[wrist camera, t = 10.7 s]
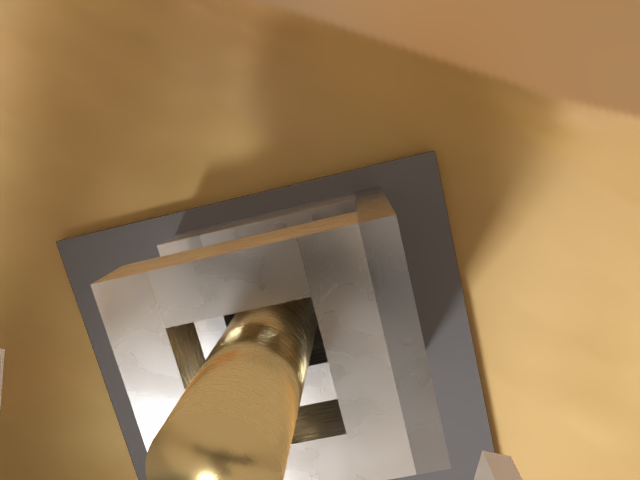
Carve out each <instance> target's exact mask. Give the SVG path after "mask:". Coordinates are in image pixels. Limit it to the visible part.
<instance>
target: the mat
mask: <svg viewBox="0 0 640 480" xmlns="http://www.w3.org/2000/svg"><path fill="white" fill-rule="evenodd" d="M379 186H380V187H381V189H382V191H383V192H384V194H385V196H386V198H387V199H388V201H389V203H390V205H391V206H392V208H393V210H394V212H395V213H396V216H397V221H398V225H399V230H400V234H401V239H402V244H403V248H404V253H405V257H406V262H407V267H408V271H409V276H410V281H411V285H412V290H413V294H414V299H415V304H416V308H417V313H418V317H419V322H420V327H421V331H422V336H423V340H424V345H425V350H426V354H427V359H428V364H429V368H430V373H431V377H432V382H433V387H434V391H435V396H436V400H437V405H438V410H439V414H440V419H441V423H442V428H443V433H444V437H445V442H446V447H447V451H448V456H449V460H450V465H451V469H446V470H441V471H435V472H429V473H424V474H418V475H412V476H407V477H401V478H395V479H390V480H474V477H475V474H476V470H477V467H478V464H479V460H480V457H481V454H482V450H483V451H488V452H492V453H495V452H494V447H493V442H492V437H491V432H490V427H489V422H488V417H487V412H486V407H485V402H484V397H483V391H482V386H481V381H480V376H479V371H478V366H477V361H476V356H475V351H474V346H473V341H472V336H471V331H470V326H469V321H468V316H467V311H466V305H465V300H464V295H463V290H462V285H461V280H460V275H459V270H458V265H457V260H456V255H455V250H454V245H453V240H452V235H451V230H450V225H449V219H448V214H447V209H446V204H445V199H444V194H443V189H442V184H441V179H440V174H439V169H438V164H437V159H436V154H435V151H430V152H426V153H422V154H418V155H414V156H409V157H405V158H401V159H397V160H393V161H389V162H384V163H380V164H376V165H372V166H368V167H364V168H359V169H355V170H351V171H347V172H343V173H339V174H334V175H330V176H326V177H322V178H318V179H314V180H309V181H305V182H301V183H297V184H293V185H289V186H284V187H280V188H276V189H272V190H268V191H264V192H259V193H255V194H251V195H247V196H243V197H239V198H234V199H230V200H226V201H222V202H218V203H214V204H209V205H205V206H201V207H197V208H193V209H189V210H184V211H180V212H176V213H172V214H168V215H164V216H159V217H155V218H151V219H147V220H143V221H139V222H134V223H130V224H126V225H122V226H118V227H114V228H109V229H105V230H101V231H97V232H93V233H89V234H84V235H80V236H76V237H72V238H68V239H64V240H60V241H57V242H56V243H57V246H58V249H59V252H60V255H61V258H62V261H63V264H64V267H65V269H66V272H67V275H68V278H69V281H70V284H71V287H72V290H73V292H74V295H75V298H76V301H77V304H78V307H79V310H80V313H81V315H82V318H83V321H84V324H85V327H86V330H87V333H88V336H89V338H90V341H91V344H92V347H93V350H94V353H95V356H96V359H97V361H98V364H99V367H100V370H101V373H102V376H103V379H104V382H105V384H106V387H107V390H108V393H109V396H110V399H111V402H112V405H113V407H114V410H115V413H116V416H117V419H118V422H119V425H120V428H121V430H122V433H123V436H124V439H125V442H126V445H127V448H128V451H129V453H130V456H131V459H132V462H133V465H134V468H135V471H136V474H137V477H138V479H139V480H147V479H146V472H145V461H146V455H147V450H146V447H145V444H144V441H143V438H142V435H141V432H140V429H139V426H138V423H137V420H136V417H135V414H134V411H133V409H132V406H131V403H130V400H129V397H128V394H127V391H126V388H125V385H124V382H123V379H122V376H121V373H120V370H119V367H118V364H117V362H116V359H115V356H114V353H113V350H112V347H111V344H110V341H109V338H108V335H107V332H106V329H105V326H104V323H103V320H102V317H101V314H100V312H99V309H98V306H97V303H96V300H95V297H94V294H93V291H92V288H91V285H90V284H92V283H94V282H96V281H97V280H99V279H101V278H102V277H104V276H106V275H107V274H109V273H111V272H113V271H114V270H116V269H118V268H119V267H121V266H123V265H127V264H131V263H135V262H140V261H144V260H148V259H153V258H157V257H160V254H159V251H158V248H157V245H158V244H160V243H162V242H164V241H165V240H167V239H169V238H170V237H172V236H174V235H175V234H180V233H184V232H188V231H192V230H197V229H201V228H205V227H209V226H214V225H218V224H222V223H226V222H231V221H235V220H239V219H243V218H248V217H252V216H256V215H260V214H265V213H269V212H273V211H277V210H282V209H286V208H290V207H294V206H299V205H303V204H307V203H311V202H316V201H320V200H324V199H328V198H333V197H337V196H341V195H345V194H350V193H354V192H358V191H362V190H367V189H371V188H375V187H379ZM321 342H323V340H322V337H321V333H320V329H319V325H318V324H317V328H316V333H315V337H314V342H313V344H316V343H321Z"/></svg>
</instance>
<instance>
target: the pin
mask: <svg viewBox="0 0 640 480" xmlns="http://www.w3.org/2000/svg"><path fill="white" fill-rule="evenodd" d="M317 324H318V321H317V317H316V313H315V309H314V305H313V301H312V298H311V297H308V298H303V299H298V300H294V301H289V302H285V303H280V304H275V305H271V306H266V307H262V308H257V309H252V310H248V311H243V312H238V313H236V314H235V316H234V317H233V319H232V321H231V322H230V324H229V325H228V327H227V328H226V330H225V331H224V333H223V334H222V336H221V337H220V339H219V340H218V342H217V343H216V345H215V346H214V348H213V349H212V351H211V352H210V354H209V355H208V357H207V358H206V360H205V361H204V363H203V364H202V366H201V367H200V369H199V371H198V372H197V374H196V375H195V377H194V378H193V380H192V381H191V383H190V384H189V386H188V387H187V389H186V390H185V392H184V393H183V395H182V396H181V398H180V399H179V401H178V402H177V404H176V405H175V407H174V408H173V410H172V411H171V413H170V414H169V416H168V417H167V419H166V421H165V422H164V424H163V425H162V427H161V428H160V430H159V431H158V433H157V434H156V436H155V437H154V439H153V440H152V442H151V444H150V446H149V449H148V452H147V455H146V461H145V472H146V479H147V480H283V479H284V474H285V470H286V465H287V461H288V456H289V452H290V447H291V442H292V438H293V433H294V429H295V424H296V420H297V415H298V410H299V406H300V401H301V397H302V392H303V388H304V383H305V379H306V374H307V369H308V365H309V360H310V356H311V351H312V347H313V342H314V337H315V333H316V328H317Z"/></svg>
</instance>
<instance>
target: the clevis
mask: <svg viewBox="0 0 640 480" xmlns="http://www.w3.org/2000/svg"><path fill="white" fill-rule="evenodd" d="M157 248H158V251H159V254H160V257H157V258H153V259H148V260H144V261H140V262H135V263H131V264H127V265H123V266H121V267H119V268H118V269H116V270H114V271H113V272H111V273H109V274H107V275H106V276H104V277H102V278H101V279H99V280H97V281H96V282H94V283H92V284H90V285H91V288H92V291H93V294H94V297H95V300H96V303H97V306H98V309H99V312H100V314H101V317H102V320H103V323H104V326H105V329H106V332H107V335H108V338H109V341H110V344H111V347H112V350H113V353H114V356H115V359H116V362H117V364H118V367H119V370H120V373H121V376H122V379H123V382H124V385H125V388H126V391H127V394H128V397H129V400H130V403H131V406H132V409H133V411H134V414H135V417H136V420H137V423H138V426H139V429H140V432H141V435H142V438H143V441H144V444H145V447H146V450H147V452H148V449H149V446H150V444H151V442H152V440H153V439H154V437H155V436H156V434H157V433H158V431H159V430H160V428H161V427H162V425H163V424H164V422H165V421H166V419H167V417H168V416H169V414H170V413H171V411H172V410H173V408H174V407H175V405H176V404H177V402H178V401H179V399H180V398H181V396H182V395H183V393H184V392H185V390H186V389H187V387H188V386H189V384H190V383H191V381H192V380H193V378H194V377H195V375H196V374H197V372H198V371H199V369H200V367H201V366H202V364H203V363H204V361H205V360H206V358H207V357H208V355H209V354H210V352H211V351H212V349H213V348H214V346H215V345H216V343H217V342H218V340H219V339H220V337H221V336H222V334H223V333H224V331H225V330H226V328H227V327H228V325H229V324H230V322H231V321H232V319H233V317H234V316H235V314H236V313H238V312H243V311H248V310H252V309H257V308H262V307H266V306H271V305H275V304H280V303H285V302H289V301H294V300H298V299H303V298H308V297H311V298H312V301H313V305H314V309H315V313H316V317H317V321H318V325H319V329H320V333H321V337H322V340H323V342H321V343H316V344H313V347H312V351H311V356H310V360H309V365H308V369H307V374H306V379H305V383H304V388H303V392H302V397H301V401H300V406H299V410H298V415H297V420H296V424H295V429H294V433H293V438H292V442H291V447H290V452H289V456H288V461H287V465H286V470H285V474H284V479H283V480H390V479H395V478H401V477H407V476H412V475H418V474H424V473H429V472H435V471H441V470H446V469H451V465H450V460H449V456H448V451H447V447H446V442H445V437H444V433H443V428H442V423H441V419H440V414H439V410H438V405H437V400H436V396H435V391H434V387H433V382H432V377H431V373H430V368H429V364H428V359H427V354H426V350H425V345H424V340H423V336H422V331H421V327H420V322H419V317H418V313H417V308H416V304H415V299H414V294H413V290H412V285H411V281H410V276H409V271H408V267H407V262H406V257H405V253H404V248H403V244H402V239H401V234H400V230H399V225H398V221H397V216H396V213H395V212H394V210H393V208H392V206H391V205H390V203H389V201H388V199H387V198H386V196H385V194H384V192H383V191H382V189H381V187H380V186H379V187H375V188H371V189H367V190H362V191H358V192H354V193H350V194H345V195H341V196H337V197H333V198H328V199H324V200H320V201H316V202H311V203H307V204H303V205H299V206H294V207H290V208H286V209H282V210H277V211H273V212H269V213H265V214H260V215H256V216H252V217H248V218H243V219H239V220H235V221H231V222H226V223H222V224H218V225H214V226H209V227H205V228H201V229H197V230H192V231H188V232H184V233H180V234H175V235H174V236H172V237H170V238H169V239H167V240H165V241H164V242H162V243H160V244H158V245H157Z"/></svg>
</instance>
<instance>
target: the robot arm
mask: <svg viewBox="0 0 640 480" xmlns="http://www.w3.org/2000/svg"><path fill="white" fill-rule="evenodd" d="M4 353H5V349H1V348H0V408H1V394H2V381H3V367H4ZM474 480H522V478H521V476H520V474H519V472H518V470H517V468H516V466H515V464H514V462H513V460H512V458H511V456H506V455H502V454H497V453H492V452H488V451H483V450H482V454H481V457H480V460H479V464H478V467H477V470H476V474H475V477H474Z"/></svg>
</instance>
